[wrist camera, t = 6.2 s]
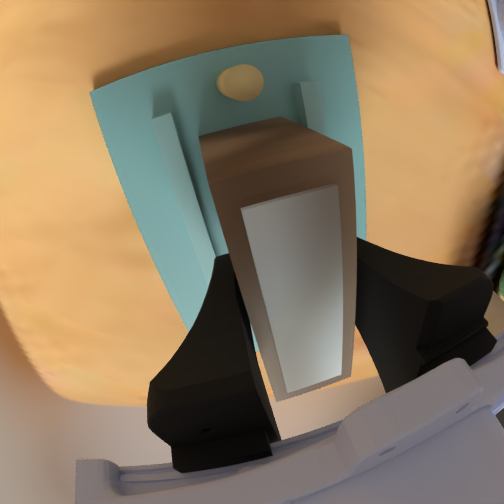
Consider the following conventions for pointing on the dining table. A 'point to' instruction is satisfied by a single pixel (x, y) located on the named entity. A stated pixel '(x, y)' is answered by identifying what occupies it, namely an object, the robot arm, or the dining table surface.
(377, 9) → the dining table surface
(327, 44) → the light blue peg board
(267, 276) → the walnut frame
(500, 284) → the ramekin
